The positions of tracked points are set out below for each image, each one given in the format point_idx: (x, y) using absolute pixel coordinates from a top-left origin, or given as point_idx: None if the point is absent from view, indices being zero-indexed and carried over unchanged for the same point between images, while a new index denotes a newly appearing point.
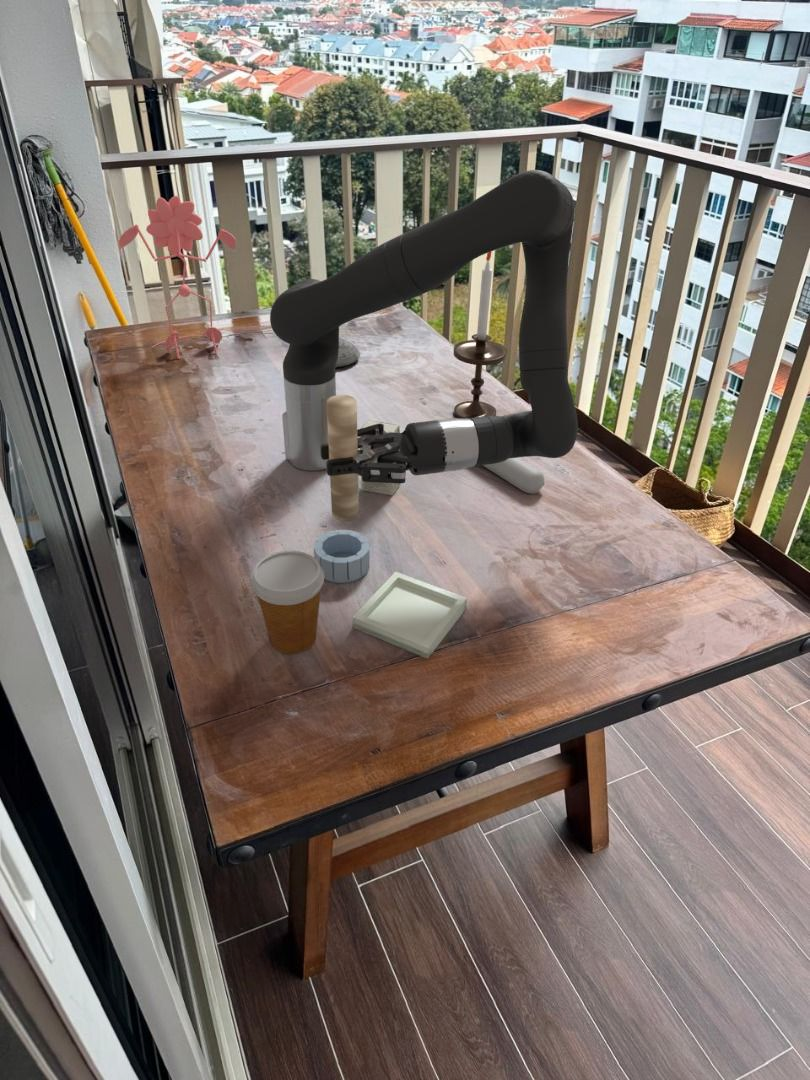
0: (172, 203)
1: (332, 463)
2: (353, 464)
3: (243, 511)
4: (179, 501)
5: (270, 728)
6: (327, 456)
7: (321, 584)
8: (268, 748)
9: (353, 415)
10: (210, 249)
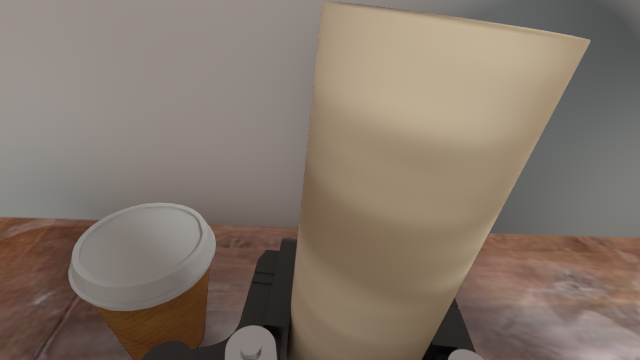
0: None
1: (279, 251)
2: (239, 325)
3: (503, 338)
4: (509, 268)
5: (48, 272)
6: None
7: (77, 291)
8: (25, 265)
9: (337, 117)
10: None
